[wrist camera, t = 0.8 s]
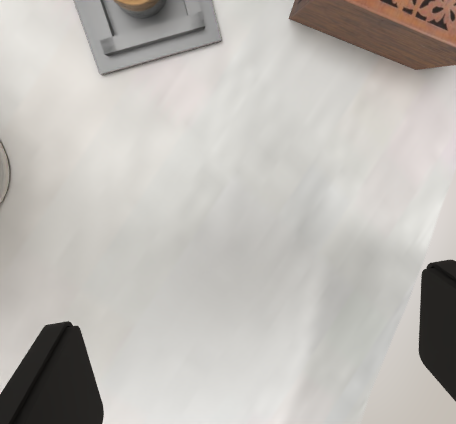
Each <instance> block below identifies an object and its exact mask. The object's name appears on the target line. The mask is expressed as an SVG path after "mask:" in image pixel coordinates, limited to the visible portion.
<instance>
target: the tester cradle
mask: <svg viewBox="0 0 456 424" xmlns="http://www.w3.org/2000/svg"><path fill="white" fill-rule="evenodd" d="M73 1H74V3H75V6H76V9H77V12H78V15H79V17H80V20H81V23H82V26H83V29H84V31H85V34H86V37H87V40H88V43H89V45H90V48H91V51H92V54H93V57H94V60H95V62H96V65H97V68H98V71H99V74H101V75H104V74H107V73H111V72H114V71H118V70H121V69H125V68H128V67H132V66H136V65H139V64H143V63H146V62H150V61H153V60H157V59H160V58H164V57H167V56H171V55H174V54H178V53H181V52H185V51H188V50H192V49H196V48H199V47H203V46H206V45H210V44H213V43H217V42H220V41H221V40H222V39H221V35H220V31H219V27H218V23H217V19H216V15H215V11H214V7H213V3H212V0H166V1H165V4H164V5H163V7H162V8H161V10H160V11H159V12H158V13H156V14H155V15H153V16H151V17H147V18H137V17H133V16H131V15H129V14H127V13H126V12H124V11H123V10H122V9H121V8H120V7H119V6H118V4H117V3H116V2H114V1H113V0H73Z"/></svg>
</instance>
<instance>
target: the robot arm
mask: <svg viewBox="0 0 456 424" xmlns="http://www.w3.org/2000/svg"><path fill="white" fill-rule="evenodd" d="M8 184H9V165H8V160H7V156H6V154H5V151H4V149H3V146H2V144H1V143H0V203H1V202H2V200H3V198H4V196H5V194H6V192H7V188H8ZM419 355H420V358H421V360H422V362H423V364H424V365H425V366H426V368H427V369H428V370H429V371H430V372H431V373H432V375H433V376H434V377H435V378H436V379H437V380H438V381H439V382H440V384H441V385H442V386H443V387H444V388H445V390H446V391H447V392H448V393H449V394H450V395H451V397H452V398H453V399H454V400H455V401H456V261H454V260H446V261H439V262H434V263H430V264H428V266H427V269H424V270H423V272H422V280H421V305H420V331H419ZM103 415H104V411H103V404H102V401H101V397H100V394H99V391H98V387H97V384H96V381H95V377H94V374H93V371H92V367H91V364H90V360H89V357H88V354H87V350H86V347H85V344H84V340H83V337H82V334H81V330H80V328H79V327H78V326H73V325H72V323H71V322H69V321H68V322H62V323H55V324H49V325H46V326H45V327H44V328H43V329H42V331H41V332H40V334H39V336H38V337H37V339H36V340H35V342H34V343H33V345H32V346H31V348H30V349H29V351H28V353H27V354H26V356H25V357H24V359H23V360H22V362H21V363H20V365H19V366H18V368H17V370H16V371H15V373H14V374H13V376H12V377H11V379H10V380H9V382H8V383H7V385H6V386H5V388H4V390H3V391H2V393H1V394H0V424H102V422H103Z"/></svg>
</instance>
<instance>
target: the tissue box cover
mask: <svg viewBox="0 0 456 424" xmlns="http://www.w3.org/2000/svg"><path fill="white" fill-rule="evenodd" d="M289 19H291V20H294V21H296V22H299V23H301V24H304V25H306V26H308V27H311V28H313V29H316V30H318V31H321V32H323V33H326V34H328V35H331V36H333V37H336V38H338V39H341V40H343V41H346V42H348V43H351V44H353V45H356V46H358V47H361V48H363V49H366V50H368V51H371V52H373V53H376V54H378V55H381V56H383V57H386V58H388V59H391V60H393V61H396V62H398V63H400V64H403V65H405V66H408V67H410V68H413V69H415V70H418V69H426V68H434V67H442V66H450V65H456V0H295V2H294V5H293V8H292V11H291V13H290V16H289Z"/></svg>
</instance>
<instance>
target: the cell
mask: <svg viewBox="0 0 456 424" xmlns="http://www.w3.org/2000/svg"><path fill="white" fill-rule="evenodd" d="M113 1H114V2H116V3H117V4H118V6H119V7H120V8H121V9H122V10H123V11H124V12H126V13H127V14H129V15H131V16H133V17H137V18H147V17H151V16H153V15H155V14H156V13H158V12H159V11H160V10H161V8H162V7H163V5H164V4H165V1H166V0H113Z"/></svg>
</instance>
